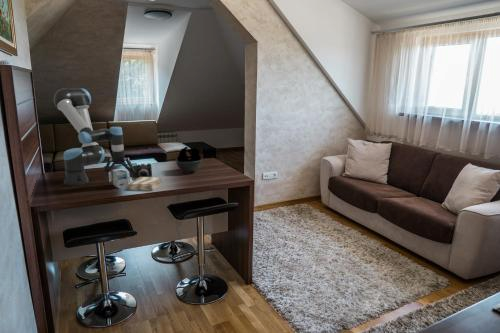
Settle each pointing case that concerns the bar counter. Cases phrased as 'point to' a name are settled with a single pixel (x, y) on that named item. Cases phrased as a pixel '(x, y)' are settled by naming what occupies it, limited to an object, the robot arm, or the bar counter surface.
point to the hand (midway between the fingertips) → (120, 181)
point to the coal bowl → (188, 160)
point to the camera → (142, 171)
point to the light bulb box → (120, 178)
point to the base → (145, 183)
